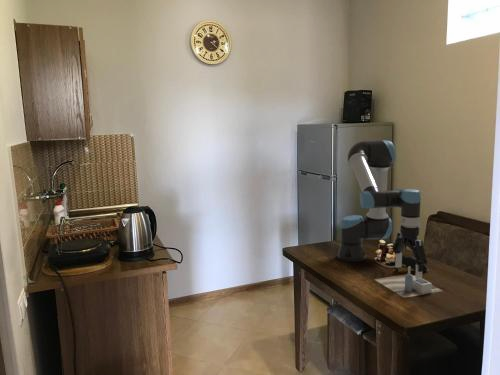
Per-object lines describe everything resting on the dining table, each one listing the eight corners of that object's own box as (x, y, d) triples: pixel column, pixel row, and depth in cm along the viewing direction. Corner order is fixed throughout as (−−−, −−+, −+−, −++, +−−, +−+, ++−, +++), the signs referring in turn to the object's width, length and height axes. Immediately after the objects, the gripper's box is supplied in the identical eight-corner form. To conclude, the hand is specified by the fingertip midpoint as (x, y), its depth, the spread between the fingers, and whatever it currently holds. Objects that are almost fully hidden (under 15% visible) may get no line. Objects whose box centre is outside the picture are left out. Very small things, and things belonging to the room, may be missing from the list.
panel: (374, 280, 193) (374, 279, 193) (410, 274, 199) (410, 273, 198) (403, 299, 172) (403, 297, 172) (442, 292, 178) (443, 290, 178)
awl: (403, 290, 180) (403, 266, 178) (410, 289, 180) (410, 265, 178) (407, 293, 177) (407, 268, 175) (413, 292, 177) (414, 267, 175)
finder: (406, 285, 185) (407, 276, 184) (416, 283, 186) (416, 274, 185) (421, 293, 175) (422, 284, 175) (431, 292, 177) (431, 282, 176)
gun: (420, 284, 201) (431, 267, 199) (390, 269, 202) (400, 252, 200) (419, 282, 204) (430, 265, 201) (389, 267, 205) (399, 250, 203)
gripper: (385, 219, 185) (383, 263, 189) (422, 234, 161) (420, 284, 165) (399, 217, 187) (397, 261, 191) (438, 232, 163) (435, 282, 167)
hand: (408, 272), depth 178 cm, fingers open, 13 cm apart
